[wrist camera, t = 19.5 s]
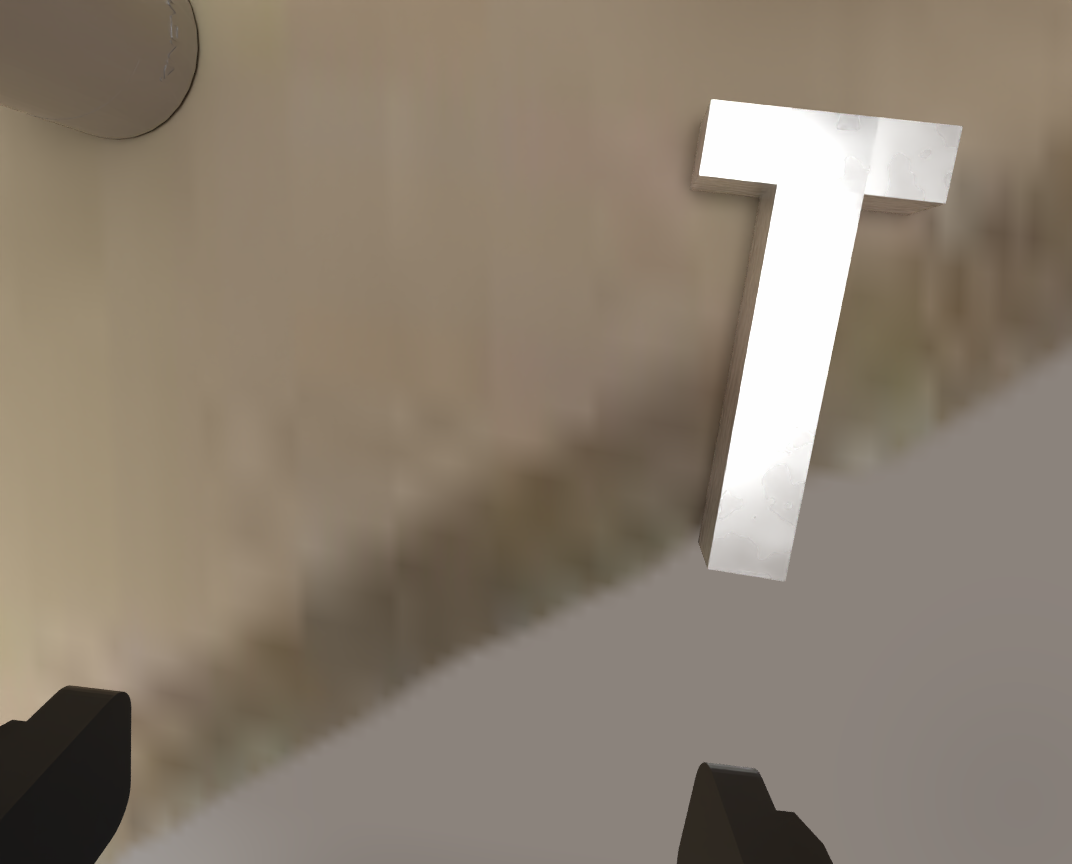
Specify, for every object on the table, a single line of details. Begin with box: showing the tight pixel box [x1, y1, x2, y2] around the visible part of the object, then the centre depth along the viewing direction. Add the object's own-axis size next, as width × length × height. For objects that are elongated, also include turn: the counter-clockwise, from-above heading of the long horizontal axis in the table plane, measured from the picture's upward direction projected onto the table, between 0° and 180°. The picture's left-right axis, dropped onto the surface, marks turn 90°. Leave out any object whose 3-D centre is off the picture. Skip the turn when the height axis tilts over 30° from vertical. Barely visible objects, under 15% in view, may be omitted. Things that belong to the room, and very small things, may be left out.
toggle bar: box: [690, 100, 963, 581], centre depth 33 cm, size 20×10×4 cm, turn 173°
